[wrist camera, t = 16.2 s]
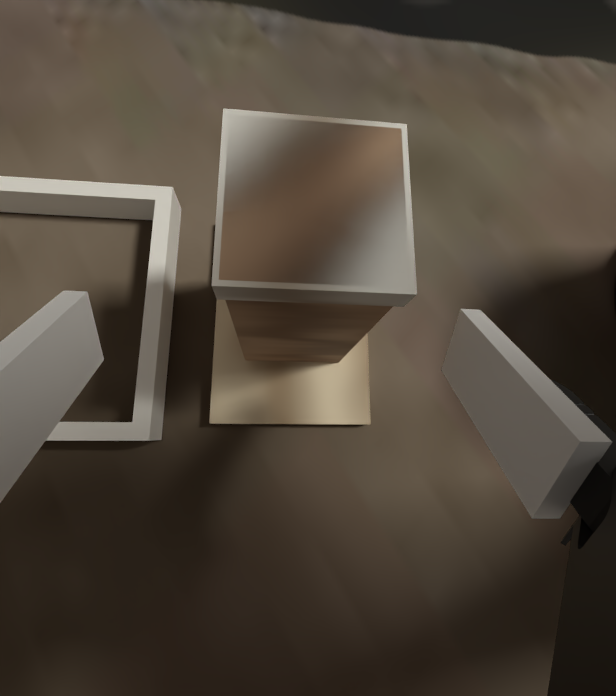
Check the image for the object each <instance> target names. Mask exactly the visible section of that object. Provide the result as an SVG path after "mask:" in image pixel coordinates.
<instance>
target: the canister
mask: <svg viewBox="0 0 616 696" xmlns="http://www.w3.org/2000/svg"><path fill="white" fill-rule="evenodd" d="M212 288H213V291H214V293H215V296H216V298H217V299H218V300H225V301H226V304H227V307H228V310H229V313H230V316H231V319H232V322H233V325H234V328H235V331H236V334H237V337H238V340H239V343H240V346H241V349H242V352H243V355H244V358H245V360H248V361H289V362H330V363H339V362H340V361H341V360H342V359H343V358H344V357H345V356H346V354H347V353H348V352H349V351H350V350H351V349H352V348H353V347H354V346H355V345H356V344H357V343H358V342H359V341H360V340H361V339H362V338H363V337H364V336H365V335H366V334H367V333H368V332H369V331H370V330H371V329H372V328H373V327H374V326H375V325H376V323H377V322H378V321H379V320H380V319H381V318H382V317H383V316H384V315H385V314H386V313H387V312H388V311H389V310H390V309H391V308H392V307H393V306H397V307H404V306H405V305H406V304H407V303H409V302H410V301H411V300H412V299H413V298H414V297H415V296H416V295H417V287H416V270H415V254H414V237H413V221H412V205H411V188H410V172H409V155H408V139H407V124H398V123H387V122H375V121H363V120H352V119H340V118H328V117H317V116H305V115H293V114H282V113H270V112H258V111H247V110H235V109H224V108H223V121H222V136H221V151H220V166H219V181H218V196H217V211H216V226H215V241H214V256H213V271H212Z"/></svg>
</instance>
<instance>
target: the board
mask: <svg viewBox="0 0 616 696" xmlns="http://www.w3.org/2000/svg"><path fill="white" fill-rule="evenodd" d="M209 423H210V424H320V425H369V424H370V393H369V362H368V333H367V334H366V335H365V336H364V337H363V338H362V339H361V340H360V341H359V342H358V343H357V344H356V345H355V346H354V347H353V348H352V349H351V350H350V351H349V352H348V353H347V354H346V356H345V357H344V358H343V359H342V360H341V361H340V362H339V363H330V362H289V361H248V360H245V358H244V355H243V352H242V349H241V346H240V343H239V340H238V337H237V334H236V331H235V328H234V325H233V322H232V319H231V316H230V313H229V310H228V307H227V304H226V301H225V300H218V299H217V303H216V320H215V337H214V353H213V370H212V387H211V404H210V420H209Z"/></svg>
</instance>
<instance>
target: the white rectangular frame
mask: <svg viewBox="0 0 616 696" xmlns="http://www.w3.org/2000/svg"><path fill="white" fill-rule="evenodd" d="M0 212H11V213H29V214H47V215H65V216H83V217H102V218H120V219H138V220H153V227H152V237H151V246H150V256H149V266H148V275H147V285H146V295H145V304H144V314H143V324H142V333H141V343H140V352H139V362H138V372H137V381H136V391H135V401H134V410H133V420H132V422H59V423H58V424H57V425H56V427H55V428H54V430H53V431H52V432H51V434H50V435H49V436H48V438H47V439H46V441H153V440H162V428H163V417H164V405H165V393H166V382H167V370H168V359H169V347H170V335H171V324H172V312H173V301H174V289H175V277H176V266H177V254H178V243H179V231H180V219H181V207H180V204H179V202H178V199H177V197H176V194H175V192H174V189H173V187H164V186H148V185H132V184H117V183H101V182H85V181H69V180H53V179H38V178H22V177H6V176H0Z"/></svg>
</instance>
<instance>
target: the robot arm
mask: <svg viewBox="0 0 616 696" xmlns="http://www.w3.org/2000/svg"><path fill="white" fill-rule="evenodd" d="M103 361H104V357H103V353H102V349H101V345H100V341H99V337H98V333H97V329H96V325H95V320H94V316H93V312H92V308H91V304H90V300H89V296H88V292H84V291H62V292H61V293H60V294H59V295H58V296H56V297H55V298H54V299H53V300H51V301H50V302H49V303H48V304H46V305H45V306H44V307H43V308H42V309H40V310H39V311H38V312H37V313H35V314H34V315H33V316H32V317H30V318H29V319H28V320H27V321H25V322H24V323H23V324H22V325H21V326H19V327H18V328H17V329H16V330H14V331H13V332H12V333H11V334H9V335H8V336H7V337H6V338H5V339H3V340H2V341H1V342H0V503H1V501H2V500H3V499H4V497H5V496H6V494H7V493H8V492H9V490H10V489H11V488H12V486H13V485H14V483H15V482H16V481H17V479H18V478H19V477H20V475H21V474H22V472H23V471H24V470H25V468H26V467H27V465H28V464H29V463H30V461H31V460H32V459H33V457H34V456H35V454H36V453H37V452H38V450H39V449H40V448H41V446H42V445H43V443H44V442H45V441H46V439H47V438H48V436H49V435H50V434H51V432H52V431H53V430H54V428H55V427H56V425H57V424H58V423H59V421H60V420H61V419H62V417H63V416H64V414H65V413H66V412H67V410H68V409H69V407H70V406H71V405H72V403H73V402H74V401H75V399H76V398H77V396H78V395H79V394H80V392H81V391H82V390H83V388H84V387H85V385H86V384H87V383H88V381H89V380H90V378H91V377H92V376H93V374H94V373H95V372H96V370H97V369H98V367H99V366H100V365H101V363H102V362H103ZM441 371H442V373H443V374H444V376H445V377H446V379H447V381H448V382H449V384H450V386H451V387H452V389H453V391H454V392H455V394H456V395H457V397H458V399H459V400H460V402H461V404H462V405H463V407H464V408H465V410H466V412H467V413H468V415H469V417H470V418H471V420H472V422H473V423H474V425H475V426H476V428H477V430H478V431H479V433H480V435H481V436H482V438H483V439H484V441H485V443H486V444H487V446H488V448H489V449H490V451H491V453H492V454H493V456H494V457H495V459H496V461H497V462H498V464H499V466H500V467H501V469H502V470H503V472H504V474H505V475H506V477H507V479H508V480H509V482H510V484H511V485H512V487H513V488H514V490H515V492H516V493H517V495H518V497H519V498H520V500H521V501H522V503H523V505H524V506H525V508H526V510H527V511H528V513H529V515H530V516H531V518H532V519H560V518H561V516H562V515H563V513H564V512H565V510H566V509H567V507H568V506H569V505H570V503H571V504H572V505H573V507H574V508H575V509H576V511H577V512H578V514H579V515H580V516H579V517H578V519H577V520H576V521H575V523H574V524H573V525H572V527H571V528H570V530H569V531H568V532H567V534H566V535H565V536H564V538H563V540H562V541H561V543H562V544H563V545H566V544H567V543H568V541H569V540H571V545H570V551H569V558H568V564H567V571H566V577H565V584H564V590H563V597H562V603H561V610H560V616H559V623H558V629H557V636H556V642H555V649H554V655H553V662H552V668H551V675H550V681H549V688H548V694H547V696H616V433H615V432H614V431H613V430H611V429H610V428H609V427H608V426H607V425H606V424H605V423H604V422H603V421H602V420H601V419H600V418H599V417H598V416H597V415H594V412H593V411H592V410H591V409H590V408H589V407H588V406H587V405H584V402H582V401H581V400H580V399H579V398H578V397H577V396H576V395H575V394H574V393H573V392H572V391H571V390H569V389H568V388H566V387H564V386H563V385H561V384H560V383H558V382H556V381H555V380H550V379H549V378H548V377H547V376H546V375H545V374H544V373H543V372H542V371H541V370H540V369H539V368H538V367H537V366H536V365H535V364H534V363H533V362H532V361H531V360H530V359H529V358H528V357H527V356H526V355H525V354H524V353H523V352H522V351H521V350H520V349H519V348H518V347H517V346H516V345H515V344H514V343H513V342H512V341H511V340H510V339H509V338H508V337H507V336H506V335H505V334H504V333H503V332H502V331H501V330H500V329H499V328H498V327H497V326H496V325H495V324H494V323H493V322H492V321H491V320H490V319H489V318H488V317H487V316H486V315H485V314H484V313H483V312H482V311H481V310H473V309H460V312H459V315H458V318H457V321H456V325H455V328H454V331H453V334H452V337H451V340H450V344H449V347H448V350H447V353H446V356H445V359H444V363H443V366H442V369H441Z"/></svg>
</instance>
